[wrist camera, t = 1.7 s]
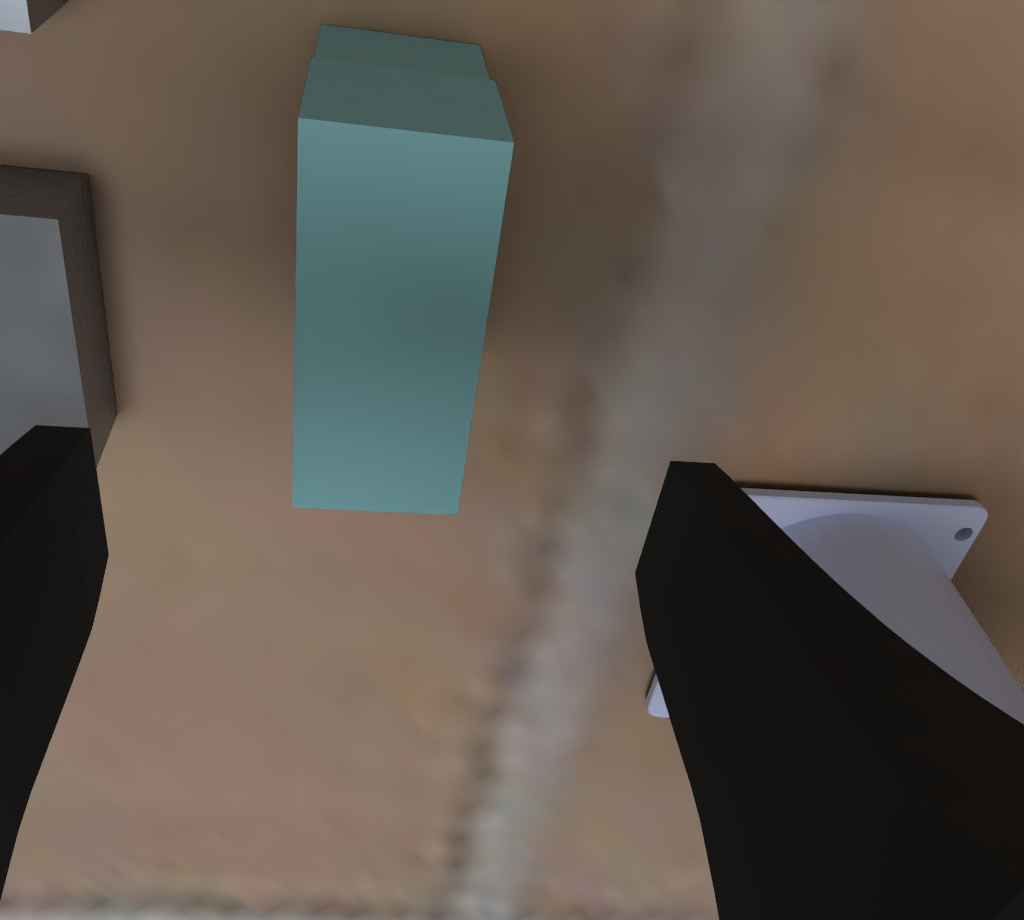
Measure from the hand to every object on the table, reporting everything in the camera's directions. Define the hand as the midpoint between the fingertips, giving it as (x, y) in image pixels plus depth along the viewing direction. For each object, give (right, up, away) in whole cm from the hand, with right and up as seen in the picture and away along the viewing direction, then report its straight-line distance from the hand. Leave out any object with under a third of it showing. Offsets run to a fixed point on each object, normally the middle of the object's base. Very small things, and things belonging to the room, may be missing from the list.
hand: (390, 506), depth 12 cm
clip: (-1, +6, +8) cm, 10 cm away
